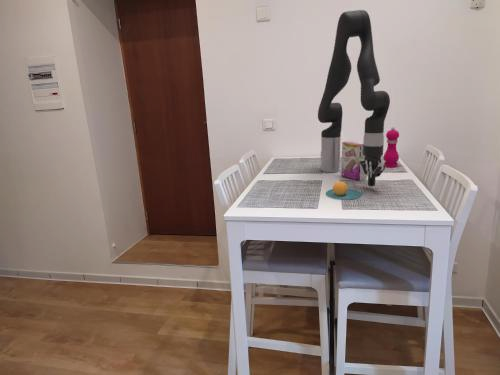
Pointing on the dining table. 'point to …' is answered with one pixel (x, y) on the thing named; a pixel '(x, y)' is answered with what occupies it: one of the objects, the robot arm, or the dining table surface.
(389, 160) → the pepper mill
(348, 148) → the candy bar box
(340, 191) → the ball
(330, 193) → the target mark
